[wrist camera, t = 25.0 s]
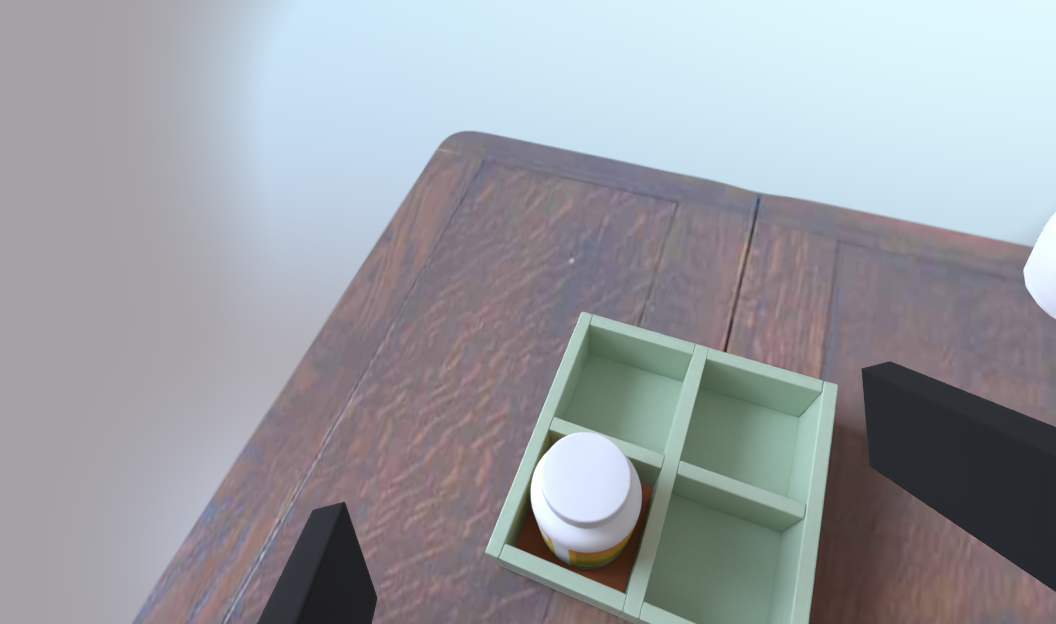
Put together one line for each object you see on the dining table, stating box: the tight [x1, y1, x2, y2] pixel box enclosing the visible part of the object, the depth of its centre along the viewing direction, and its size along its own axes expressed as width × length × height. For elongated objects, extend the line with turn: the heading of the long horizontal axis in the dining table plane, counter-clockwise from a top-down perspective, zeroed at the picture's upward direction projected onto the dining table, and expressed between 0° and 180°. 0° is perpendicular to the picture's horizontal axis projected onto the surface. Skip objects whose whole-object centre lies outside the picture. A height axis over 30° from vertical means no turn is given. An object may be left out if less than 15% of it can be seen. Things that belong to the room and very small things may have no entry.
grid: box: [485, 312, 838, 624], centre depth 32 cm, size 15×15×5 cm
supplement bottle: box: [531, 432, 642, 569], centre depth 28 cm, size 5×5×10 cm
